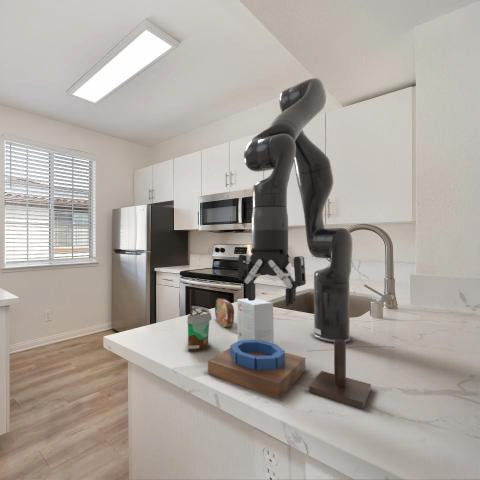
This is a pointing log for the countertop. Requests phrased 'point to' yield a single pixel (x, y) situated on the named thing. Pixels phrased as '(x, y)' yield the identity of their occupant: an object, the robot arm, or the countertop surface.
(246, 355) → the ring
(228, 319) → the mottled orange brown slab
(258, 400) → the countertop surface
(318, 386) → the ring stand
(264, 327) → the small box
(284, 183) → the robot arm
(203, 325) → the food container
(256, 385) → the platform
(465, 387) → the countertop surface
